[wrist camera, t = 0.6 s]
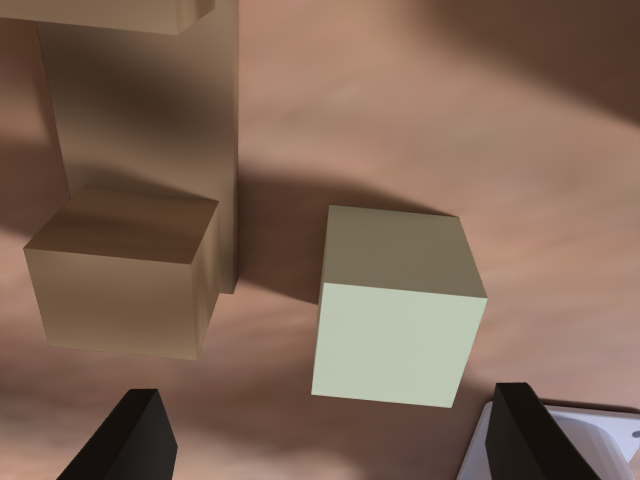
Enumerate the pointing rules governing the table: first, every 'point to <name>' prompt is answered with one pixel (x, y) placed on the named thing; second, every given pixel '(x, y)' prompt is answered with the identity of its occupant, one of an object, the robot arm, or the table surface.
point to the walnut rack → (138, 171)
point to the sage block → (395, 307)
